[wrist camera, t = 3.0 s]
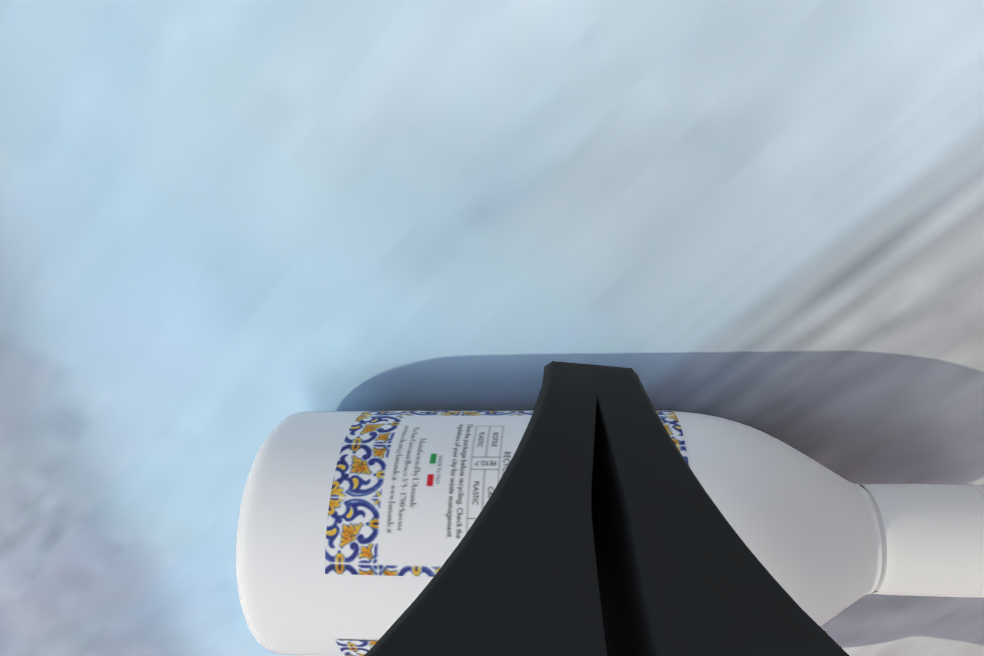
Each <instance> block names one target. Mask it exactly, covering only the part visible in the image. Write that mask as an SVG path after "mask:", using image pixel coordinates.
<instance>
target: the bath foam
mask: <svg viewBox="0 0 984 656" xmlns="http://www.w3.org/2000/svg"><path fill="white" fill-rule="evenodd" d="M655 411H656V412H657V414H658V416H659V418H660V419H661V421H662V423H663V425H664V426H665V428H666V430H667V432H668V433H669V435H670V437H671V438H672V440H673V442H674V443H675V445H676V447H677V448H678V450H679V451H680V453H681V454H682V456H683V457H684V459H685V461H686V462H687V464H688V465H689V467H690V468H691V470H692V472H693V473H694V475H695V476H696V478H697V479H698V481H699V482H700V484H701V485H702V486H703V488H704V489H705V491H706V492H707V494H708V495H709V497H710V498H711V499H712V501H713V502H714V503H715V505H716V506H717V508H718V509H719V510H720V512H721V513H722V514H723V516H724V517H725V519H726V520H727V521H728V523H729V524H730V525H731V526H732V528H733V529H734V530H735V532H736V533H737V534H738V536H739V537H740V538H741V539H742V541H743V542H744V543H745V544H746V546H747V547H748V548H749V549H750V550H751V552H752V553H753V554H754V555H755V556H756V558H757V559H758V560H759V561H760V562H761V563H762V565H763V566H764V567H765V568H766V569H767V571H768V572H769V573H770V574H771V575H772V576H773V578H774V579H775V580H776V581H777V582H778V583H779V584H780V585H781V586H782V588H783V589H784V590H785V591H786V592H787V593H788V594H789V595H790V596H791V597H792V599H793V600H794V601H795V602H796V603H797V604H798V605H799V606H800V607H801V608H802V609H803V610H804V611H805V612H806V613H807V614H808V615H809V616H810V617H811V618H812V619H813V620H814V621H815V622H816V623H817V624H818V625H819V626H822V625H823V624H824V623H826V622H827V621H829V620H830V619H832V618H833V617H834V616H836V615H837V614H839V613H840V612H842V611H843V610H844V609H846V608H847V607H849V606H850V605H851V604H853V603H854V602H856V601H857V600H858V599H860V598H861V597H863V596H864V595H868V594H871V593H873V594H883V595H904V596H937V597H974V598H984V485H975V484H859V485H858V484H855V483H851V482H849V481H847V480H846V479H844V478H842V477H841V476H839V475H838V474H836V473H834V472H833V471H831V470H829V469H828V468H826V467H824V466H823V465H821V464H820V463H818V462H816V461H815V460H813V459H811V458H810V457H808V456H806V455H805V454H803V453H801V452H800V451H798V450H796V449H794V448H793V447H791V446H789V445H787V444H786V443H784V442H782V441H780V440H778V439H776V438H774V437H772V436H770V435H768V434H766V433H764V432H762V431H759V430H757V429H755V428H752V427H750V426H747V425H744V424H741V423H738V422H735V421H732V420H728V419H724V418H720V417H715V416H710V415H705V414H698V413H689V412H674V411H672V410H655ZM532 414H533V411H314V412H300V413H296V414H293V415H291V416H289V417H287V418H285V419H284V420H283V421H282V422H281V423H280V424H279V425H278V426H277V427H276V428H275V429H274V430H273V431H272V432H271V433H270V435H269V436H268V437H267V438H266V440H265V441H264V443H263V444H262V446H261V447H260V449H259V451H258V453H257V455H256V458H255V460H254V462H253V465H252V467H251V470H250V473H249V476H248V479H247V483H246V486H245V490H244V494H243V499H242V503H241V509H240V515H239V522H238V531H237V544H236V572H237V584H238V592H239V597H240V602H241V607H242V610H243V614H244V617H245V619H246V622H247V624H248V626H249V628H250V630H251V632H252V634H253V635H254V637H255V638H256V639H257V641H258V642H259V643H260V644H261V645H263V646H264V647H265V648H267V649H268V650H270V651H272V652H275V653H280V654H287V655H307V656H364V655H365V654H366V653H367V652H368V651H369V650H370V649H371V648H372V647H373V646H374V645H375V644H376V642H377V641H378V640H379V639H380V638H381V637H382V636H383V635H384V634H385V632H386V631H387V630H388V629H389V628H390V627H391V626H392V625H393V624H394V622H395V621H396V620H397V619H398V618H399V617H400V616H401V615H402V614H403V612H404V611H405V610H406V609H407V608H408V607H409V606H410V605H411V604H412V602H413V601H414V600H415V599H416V598H417V597H418V595H419V594H420V593H421V592H422V591H423V590H424V588H425V587H426V586H427V585H428V583H429V582H430V581H431V580H432V578H433V577H434V576H435V575H436V573H437V572H438V571H439V569H440V568H441V567H442V565H443V564H444V563H445V561H446V560H447V559H448V558H449V556H450V555H451V554H452V552H453V551H454V550H455V548H456V547H457V546H458V544H459V543H460V542H461V540H462V539H463V537H464V536H465V534H466V533H467V531H468V530H469V529H470V527H471V526H472V524H473V523H474V521H475V520H476V518H477V517H478V515H479V514H480V512H481V511H482V509H483V508H484V506H485V504H486V503H487V501H488V500H489V498H490V496H491V495H492V493H493V491H494V490H495V488H496V486H497V484H498V482H499V481H500V479H501V477H502V475H503V474H504V472H505V470H506V468H507V466H508V465H509V463H510V461H511V459H512V457H513V456H514V454H515V452H516V450H517V448H518V445H519V443H520V441H521V439H522V437H523V434H524V432H525V430H526V428H527V426H528V423H529V421H530V419H531V417H532Z"/></svg>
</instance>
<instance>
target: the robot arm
mask: <svg viewBox="0 0 984 656" xmlns="http://www.w3.org/2000/svg"><path fill="white" fill-rule="evenodd" d="M364 656H849V655H848V654H847V653H846V652H845V651H844V650H843V649H842V648H841V647H840V646H839V645H838V644H837V643H836V642H835V641H834V640H833V639H832V638H831V637H830V636H829V635H828V634H827V633H826V632H825V631H824V630H823V629H822V628H821V627H820V626H819V625H818V624H817V623H816V622H815V621H814V620H813V619H812V618H811V617H810V616H809V615H808V614H807V613H806V612H805V611H804V610H803V609H802V608H801V607H800V606H799V605H798V604H797V603H796V602H795V601H794V600H793V599H792V597H791V596H790V595H789V594H788V593H787V592H786V591H785V590H784V589H783V588H782V586H781V585H780V584H779V583H778V582H777V581H776V580H775V579H774V578H773V576H772V575H771V574H770V573H769V572H768V571H767V569H766V568H765V567H764V566H763V565H762V563H761V562H760V561H759V560H758V559H757V558H756V556H755V555H754V554H753V553H752V552H751V550H750V549H749V548H748V547H747V546H746V544H745V543H744V542H743V541H742V539H741V538H740V537H739V536H738V534H737V533H736V532H735V530H734V529H733V528H732V526H731V525H730V524H729V523H728V521H727V520H726V519H725V517H724V516H723V514H722V513H721V512H720V510H719V509H718V508H717V506H716V505H715V503H714V502H713V501H712V499H711V498H710V497H709V495H708V494H707V492H706V491H705V489H704V488H703V486H702V485H701V484H700V482H699V481H698V479H697V478H696V476H695V475H694V473H693V472H692V470H691V468H690V467H689V465H688V464H687V462H686V461H685V459H684V457H683V456H682V454H681V453H680V451H679V450H678V448H677V447H676V445H675V443H674V442H673V440H672V438H671V437H670V435H669V433H668V432H667V430H666V428H665V426H664V425H663V423H662V421H661V419H660V418H659V416H658V414H657V412H656V411H655V409H654V407H653V405H652V403H651V401H650V399H649V397H648V396H647V394H646V392H645V390H644V388H643V386H642V384H641V382H640V380H639V377H638V375H637V374H636V373H635V372H634V370H633V369H632V368H622V367H611V366H600V365H589V364H577V363H566V362H555V361H552V362H551V363H549V364H548V365H546V366H545V367H544V376H543V383H542V387H541V391H540V394H539V397H538V401H537V403H536V406H535V409H534V411H533V414H532V417H531V419H530V421H529V423H528V426H527V428H526V430H525V432H524V434H523V437H522V439H521V441H520V443H519V445H518V448H517V450H516V452H515V454H514V456H513V457H512V459H511V461H510V463H509V465H508V466H507V468H506V470H505V472H504V474H503V475H502V477H501V479H500V481H499V482H498V484H497V486H496V488H495V490H494V491H493V493H492V495H491V496H490V498H489V500H488V501H487V503H486V504H485V506H484V508H483V509H482V511H481V512H480V514H479V515H478V517H477V518H476V520H475V521H474V523H473V524H472V526H471V527H470V529H469V530H468V531H467V533H466V534H465V536H464V537H463V539H462V540H461V542H460V543H459V544H458V546H457V547H456V548H455V550H454V551H453V552H452V554H451V555H450V556H449V558H448V559H447V560H446V561H445V563H444V564H443V565H442V567H441V568H440V569H439V571H438V572H437V573H436V575H435V576H434V577H433V578H432V580H431V581H430V582H429V583H428V585H427V586H426V587H425V588H424V590H423V591H422V592H421V593H420V594H419V595H418V597H417V598H416V599H415V600H414V601H413V602H412V604H411V605H410V606H409V607H408V608H407V609H406V610H405V611H404V612H403V614H402V615H401V616H400V617H399V618H398V619H397V620H396V621H395V622H394V624H393V625H392V626H391V627H390V628H389V629H388V630H387V631H386V632H385V634H384V635H383V636H382V637H381V638H380V639H379V640H378V641H377V642H376V644H375V645H374V646H373V647H372V648H371V649H370V650H369V651H368V652H367V653H366V654H365V655H364Z"/></svg>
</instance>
